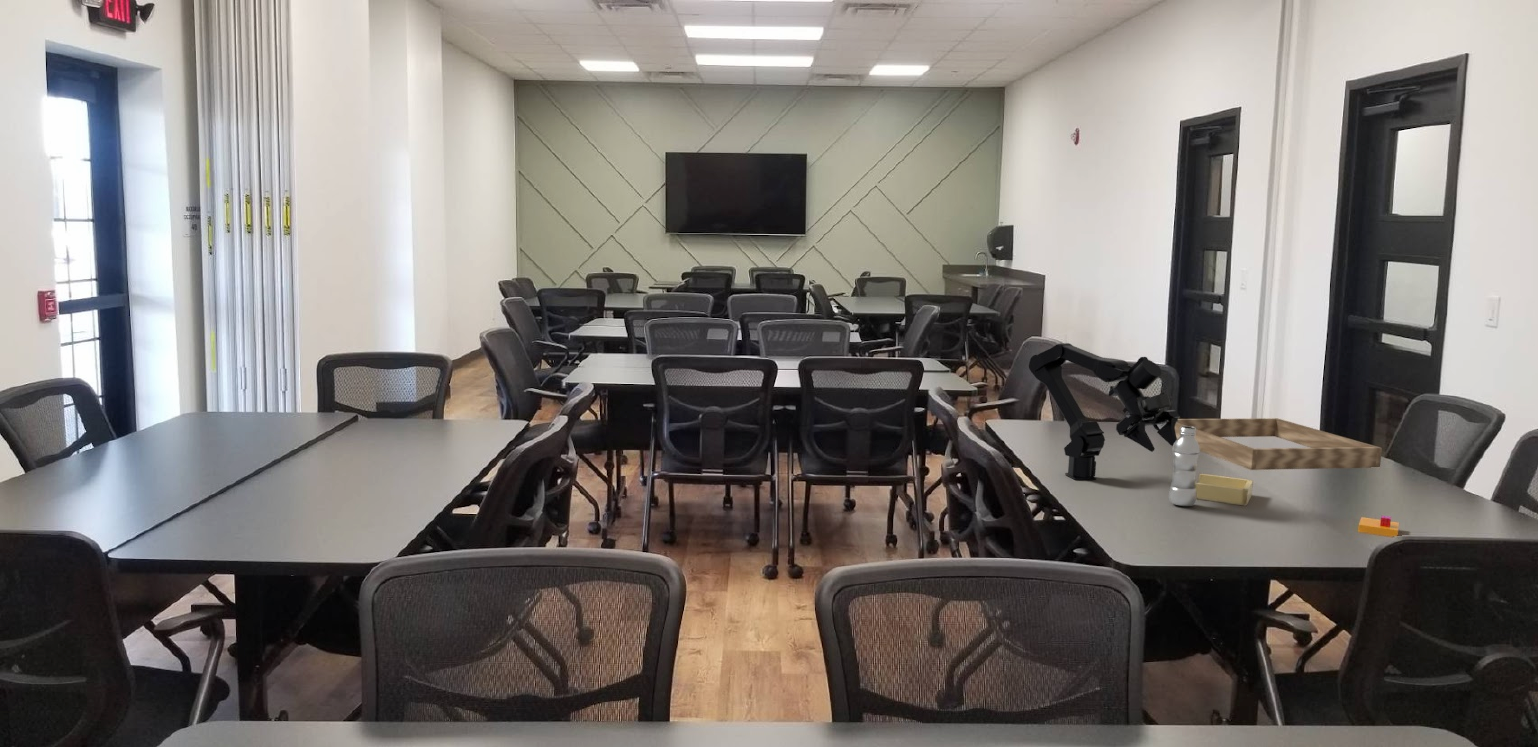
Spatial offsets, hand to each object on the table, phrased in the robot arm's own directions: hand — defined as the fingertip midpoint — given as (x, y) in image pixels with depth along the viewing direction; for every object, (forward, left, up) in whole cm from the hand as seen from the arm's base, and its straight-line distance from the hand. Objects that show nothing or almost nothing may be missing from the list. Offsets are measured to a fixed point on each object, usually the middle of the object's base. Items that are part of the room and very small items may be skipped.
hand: (1165, 449), depth 280 cm
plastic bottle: (+2, -6, -13) cm, 15 cm away
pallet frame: (+68, +55, -13) cm, 89 cm away
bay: (+18, +2, -13) cm, 22 cm away
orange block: (+37, -32, -14) cm, 51 cm away
